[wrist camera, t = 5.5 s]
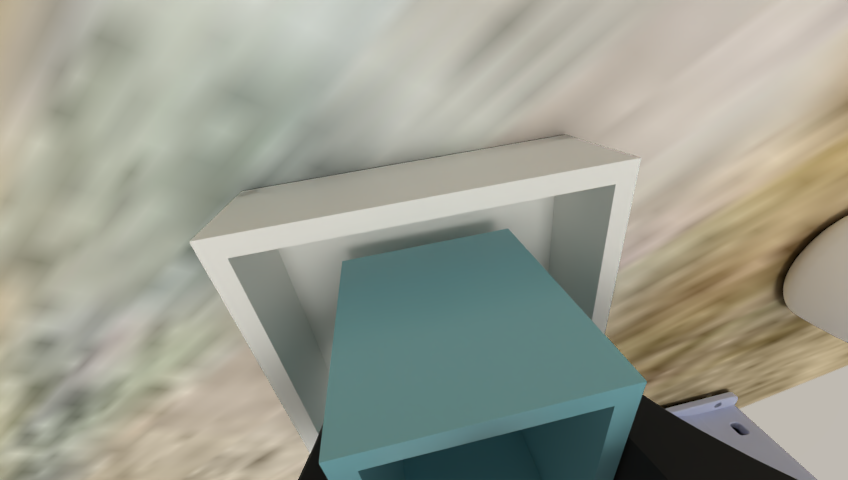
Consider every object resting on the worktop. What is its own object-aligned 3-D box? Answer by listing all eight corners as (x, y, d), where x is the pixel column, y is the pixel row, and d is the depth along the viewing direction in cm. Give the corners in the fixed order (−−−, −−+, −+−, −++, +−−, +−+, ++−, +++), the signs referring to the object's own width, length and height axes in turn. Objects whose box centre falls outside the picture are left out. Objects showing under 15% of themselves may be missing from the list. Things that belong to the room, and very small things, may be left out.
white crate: (565, 134, 11) (641, 158, 8) (545, 365, 17) (584, 429, 14) (241, 191, 10) (189, 241, 7) (339, 414, 16) (333, 494, 13)
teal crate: (508, 228, 11) (646, 381, 5) (507, 380, 15) (587, 554, 9) (342, 261, 10) (318, 462, 5) (388, 409, 14) (401, 608, 9)
